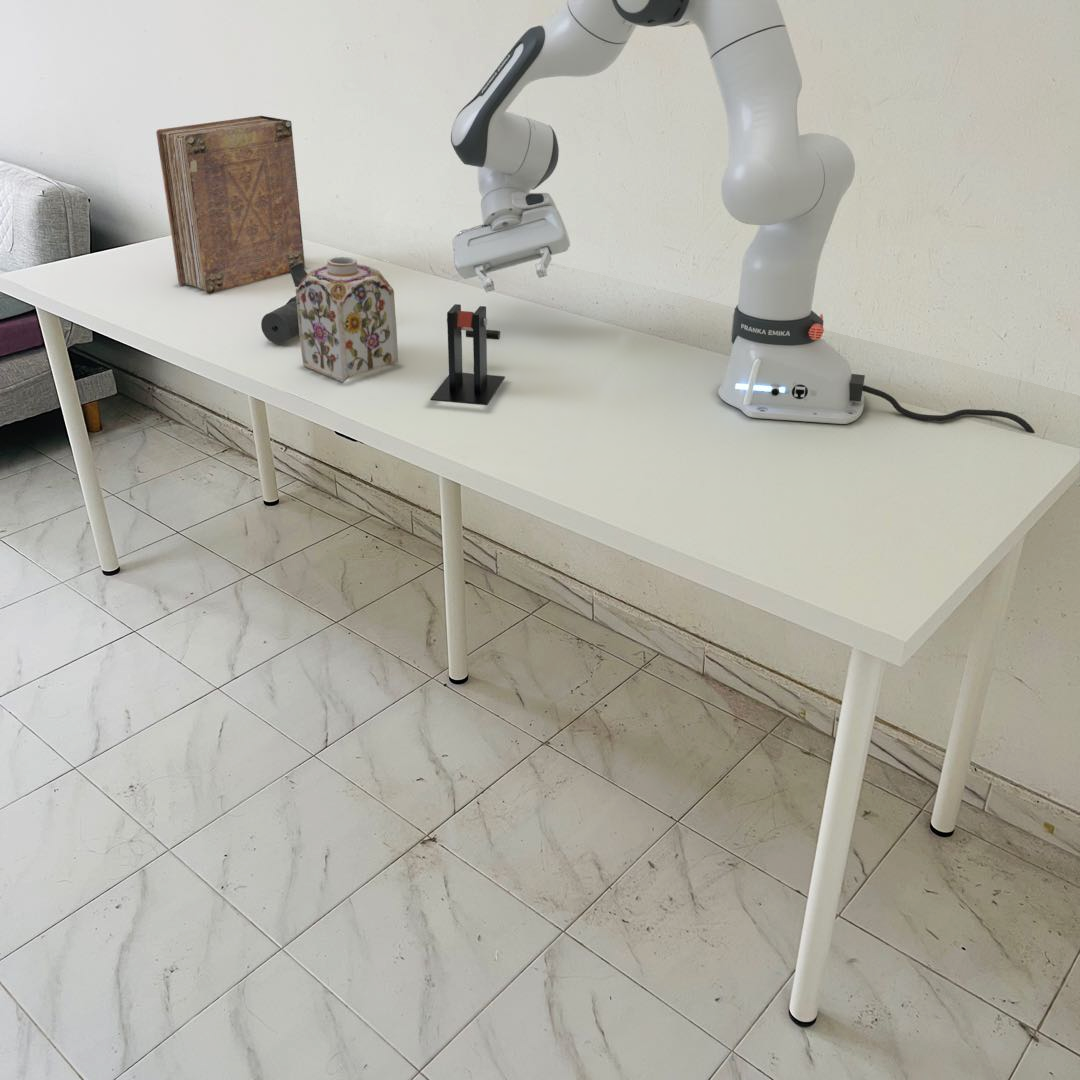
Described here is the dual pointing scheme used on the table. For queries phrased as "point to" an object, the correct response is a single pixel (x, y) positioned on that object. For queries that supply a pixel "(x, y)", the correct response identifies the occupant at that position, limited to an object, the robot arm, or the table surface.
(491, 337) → the switch lever
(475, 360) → the switch bracket
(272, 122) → the book
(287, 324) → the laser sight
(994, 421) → the table surface
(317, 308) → the decorative jar
